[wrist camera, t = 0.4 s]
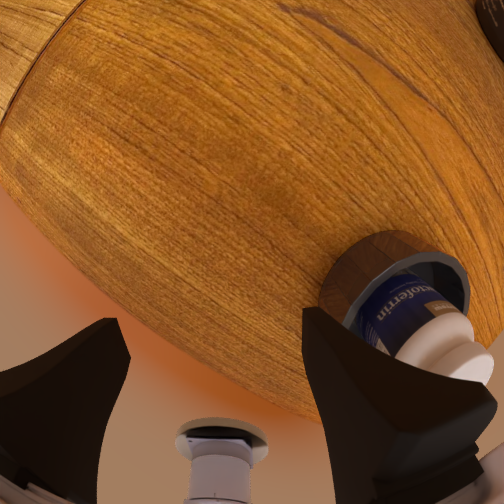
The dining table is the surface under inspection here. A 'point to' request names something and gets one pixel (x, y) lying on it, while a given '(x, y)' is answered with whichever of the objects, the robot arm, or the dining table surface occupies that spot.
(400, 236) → the bowl
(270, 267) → the dining table surface
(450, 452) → the robot arm
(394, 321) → the pill bottle
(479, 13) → the jar
